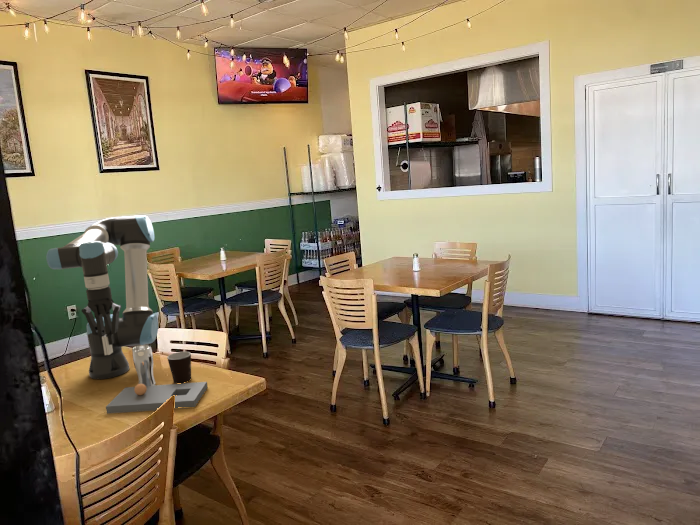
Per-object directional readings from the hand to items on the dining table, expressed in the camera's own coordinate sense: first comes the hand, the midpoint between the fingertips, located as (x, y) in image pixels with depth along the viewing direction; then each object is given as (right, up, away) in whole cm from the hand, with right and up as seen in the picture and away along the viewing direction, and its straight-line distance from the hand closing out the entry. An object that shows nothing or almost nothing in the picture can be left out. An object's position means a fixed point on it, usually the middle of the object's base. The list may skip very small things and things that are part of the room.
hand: (108, 353), depth 189 cm
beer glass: (+7, -15, +18) cm, 24 cm away
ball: (+10, -13, +2) cm, 17 cm away
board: (+16, -17, +3) cm, 24 cm away
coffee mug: (+20, -14, +22) cm, 32 cm away
